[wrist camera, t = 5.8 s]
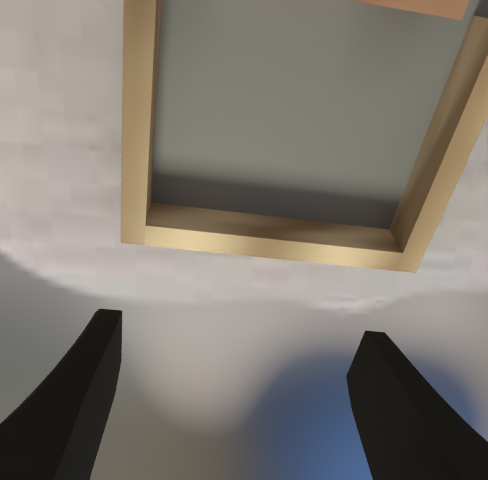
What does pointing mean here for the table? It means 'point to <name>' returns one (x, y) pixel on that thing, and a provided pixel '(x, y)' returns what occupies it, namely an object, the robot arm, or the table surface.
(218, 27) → the floor board
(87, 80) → the table surface
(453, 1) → the terracotta slab
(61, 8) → the table surface
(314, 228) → the oak cubby
